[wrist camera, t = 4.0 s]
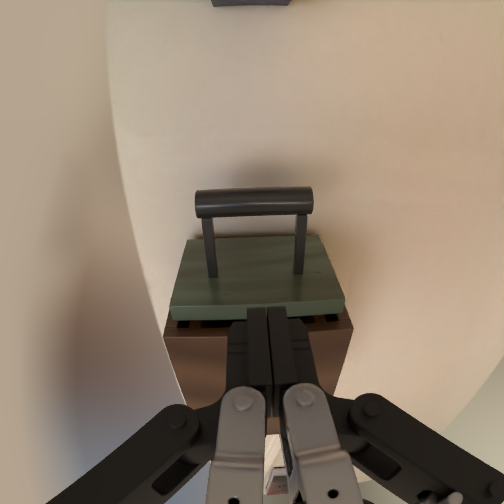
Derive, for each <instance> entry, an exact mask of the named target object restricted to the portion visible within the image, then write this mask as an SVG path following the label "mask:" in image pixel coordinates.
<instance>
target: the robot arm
mask: <svg viewBox="0 0 504 504" xmlns="http://www.w3.org/2000/svg"><path fill="white" fill-rule="evenodd" d="M271 405H272V415H273V418H274V417H279V423H280V433H279V435H280V442H281V447H282V453H283V458H284V464H285V469H286V475H287V482H288V495H289V500H290V504H374V503H372V502H370V501H368V500H365V499H362V496H361V493H360V489H359V485H358V482H357V478H356V475H355V472H354V468H353V465H354V466H356V467H357V468H358V469H360V470H361V471H362V472H364V473H365V474H366V475H368V476H369V477H370V478H372V479H373V480H375V481H376V482H377V483H379V484H380V485H382V486H383V487H385V488H386V489H387V490H389V491H390V492H392V493H393V494H395V495H396V496H398V497H399V498H401V499H402V500H404V501H405V502H407V503H408V504H501V503H502V502H503V501H504V474H503V473H501V472H499V471H498V470H496V469H494V468H493V467H491V466H489V465H487V464H486V463H484V462H483V461H481V460H479V459H478V458H476V457H475V456H473V455H471V454H470V453H468V452H466V451H465V450H463V449H461V448H460V447H458V446H457V445H455V444H454V443H452V442H450V441H449V440H447V439H446V438H444V437H443V436H441V435H440V434H438V433H436V432H435V431H433V430H432V429H430V428H429V427H427V426H426V425H424V424H423V423H421V422H420V421H418V420H417V419H415V418H414V417H412V416H411V415H409V414H408V413H406V412H405V411H403V410H402V409H400V408H399V407H397V406H396V405H394V404H393V403H391V402H390V401H388V400H387V399H385V398H384V397H382V396H381V395H378V394H374V393H367V394H363V395H360V396H359V397H357V398H356V399H355V400H351V399H344V398H338V397H334V396H332V395H330V394H328V393H327V392H325V391H324V390H323V389H322V387H321V386H320V384H319V381H318V377H317V372H316V367H315V362H314V357H313V353H312V349H311V344H310V341H309V334H308V330H307V327H306V326H305V325H304V323H303V322H302V321H301V320H300V318H298V319H288V317H287V311H286V306H275V307H267V310H266V309H265V307H254V308H247V321H238V322H233V323H232V325H231V327H230V328H229V330H228V334H227V363H226V388H225V392H224V394H223V395H222V397H221V398H220V399H219V400H218V401H217V402H215V403H213V404H211V405H209V406H206V407H202V408H198V409H195V410H193V409H192V408H190V407H189V406H186V405H182V404H174V405H170V406H167V407H166V408H164V409H163V410H161V411H160V412H159V413H158V414H157V415H156V416H155V417H153V418H152V419H151V420H150V421H149V422H148V423H146V424H145V425H144V426H143V427H142V428H141V429H139V430H138V431H137V432H136V433H135V434H134V435H132V436H131V437H130V438H129V439H128V440H126V441H125V442H124V443H123V444H122V445H120V446H119V447H118V448H117V449H116V450H114V451H113V452H112V453H111V454H110V455H108V456H107V457H106V458H105V459H103V460H102V461H101V462H100V463H98V464H97V465H96V466H95V467H93V468H92V469H91V470H90V471H88V472H87V473H86V474H84V475H83V476H82V477H81V478H79V479H78V480H77V481H75V482H74V483H73V484H72V485H70V486H69V487H68V488H66V489H65V490H64V491H62V492H61V493H60V494H58V495H57V496H56V497H54V498H53V499H51V500H50V501H49V502H47V503H46V504H164V503H165V502H166V501H168V500H169V499H170V498H171V497H172V496H173V495H174V494H175V493H176V492H177V491H178V490H180V489H181V488H182V487H183V486H184V485H185V484H186V483H187V482H188V481H189V480H190V479H191V478H192V477H193V476H194V475H195V474H196V473H197V472H198V471H199V470H200V469H201V468H202V467H203V466H204V465H205V464H206V463H207V462H208V461H210V460H211V464H210V470H209V478H208V486H207V494H206V502H205V504H263V483H264V453H265V438H266V435H267V418H271ZM352 464H353V465H352Z"/></svg>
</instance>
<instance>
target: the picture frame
mask: <svg viewBox="0 0 504 504" xmlns="http://www.w3.org/2000/svg"><path fill="white" fill-rule="evenodd" d="M277 494H288V482H287V475H286V469H285V467H284V468H274V469H273V471H272V474H271V477H270V480H269V483H268V486H267V488H266V495H277Z"/></svg>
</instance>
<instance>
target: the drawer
mask: <svg viewBox="0 0 504 504" xmlns="http://www.w3.org/2000/svg"><path fill="white" fill-rule="evenodd" d="M313 205H314V199H313V191H312V188H311V187H258V188H232V189H212V190H197V191H196V193H195V211H196V216H197V218H202V219H201V220H202V229H203V238H204V239H194V240H187V242H186V245H185V249H184V253H183V256H182V260H181V263H180V267H179V271H178V274H177V278H176V282H175V286H174V290H173V294H172V297H171V301H170V305H169V307H170V311H171V315H172V319H173V320H190V324H189V328H223V327H231V325H232V323H233V322H238V321H247V308H254V307H265V309H266V310H267V307H275V306H286V311H287V317H288V319H298V318H300V320H301V321H302V322H303V323H304V324H306V323H319V322H327V321H326V318H325V315H324V314H336V313H342V312H343V308H344V303H345V296H344V294H343V291H342V289H341V287H340V284H339V282H338V279H337V277H336V274H335V272H334V269H333V267H332V265H331V262H330V260H329V258H328V255H327V253H326V251H325V248H324V246H323V244H322V241H321V239H320V237H319V235H306V230H307V214H312V212H313ZM263 215H296V223H295V236H268V237H242V238H217V239H215V237H214V226H213V218H214V217H237V216H263Z"/></svg>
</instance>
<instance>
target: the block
mask: <svg viewBox="0 0 504 504" xmlns="http://www.w3.org/2000/svg"><path fill="white" fill-rule="evenodd" d="M211 1H212V4H213V6H214V7H217V6H233V5H288V4H289V3H290V1H291V0H211Z"/></svg>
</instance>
